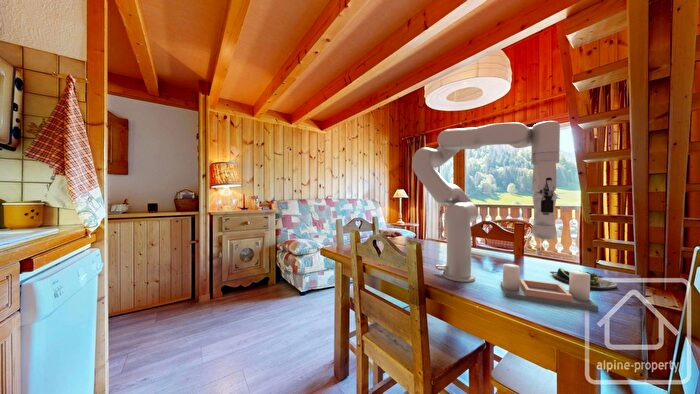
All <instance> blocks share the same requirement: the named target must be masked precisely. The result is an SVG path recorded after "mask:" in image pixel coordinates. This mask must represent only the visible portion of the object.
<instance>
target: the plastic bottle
mask: <svg viewBox="0 0 700 394" xmlns="http://www.w3.org/2000/svg"><path fill="white" fill-rule="evenodd" d="M544 191H547V190H544ZM553 194H554V195H553V197H554V200H553V201H554V205H553V213H543V212H541V200H542V191H541V190H540V192H533V193H532V202H533V203H532V204H533V211H534V214H533V215H534V216H533V217H534V218H533V225H532V229H531V233H532V236H533V237H534V238H537V239H539V240H544V241H545V240H554V239H556V237H557V233H558V232H557V227H556V221H555V210H556V209H555V208H556V202H557V194H556V192H555V191H554V192H553Z"/></svg>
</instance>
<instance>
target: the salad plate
mask: <svg viewBox="0 0 700 394" xmlns="http://www.w3.org/2000/svg"><path fill="white" fill-rule="evenodd" d="M579 271H580V272H582V271H581V270H579ZM584 272H585V273H588V274H590V291H592V290H593V291H601V290H602V291H603V289H604V290H610V289H613V288H616V287H617V286H618V284H617V283H616V282H613V281H610V280H606V279H603V278H604V276H603V275H598V274H596V273H595V272H589V271H584ZM549 273H550V274H551V275H552V277H553V278H554V279H555V280H557V281H558V282H561V283H564V284H567V285H569V271H568V270H565V269H563V268H562V267H561V268H558V269H557V271H549ZM600 283H601V284H600ZM603 284H604V285H603ZM602 285H603V286H602ZM605 285H606V287H605Z"/></svg>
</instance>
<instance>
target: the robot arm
mask: <svg viewBox="0 0 700 394" xmlns="http://www.w3.org/2000/svg"><path fill="white" fill-rule="evenodd" d="M560 138H561V126H560V122H558V121H555V120H547V121H540V122H537V123H536V124H535V123H534V125H533V126H532V127H531V126H530V127H529V126H527V125H526V124H524V123H521V122H498V123H491V124H486V125H481V126H478V127H477V126H476V127H464V128H463V127H462V128H447V129H444V130H442V131H441V132H440V133H439V134H438V136H437V144H438V145H439V146H438V147H436V148H431V147H426V146H425V147H421V148H419V149H417V150H416V151H415V153H414V154H413V157H412V162H411V163H412V170H413V172H414V174H415V176H416V177H417V179H418V180H419V181H420V182H421V183H422V185H423V186H424V188H425V189H426V190H427V192H428V193H429V194H430V196H431V198H433V199H434V201H435V202H436V203H437V204H439V205H444V206H445V205H447V206H448V207H447V208H446V210H445V216H444V219H445V227H446V263H445V264H443V265H441V264H435V269H436V270H437V271H440V272H441V271H443V272H442V276H443V278H444V279H447V280H451V281H454V282H458V283H459V282H460V283H470V282H474V281H475V280H476V276H475V274H473V273H472V229H471V223H473V222H474V221H476V220H477V218H478V216H479V210H478V207H477V206H476V205H475V203H474V202H473V200H471V198H470V197H469V196H468V195H467V194H466V192H464V190H463V188H461V187H459V186H458V185H456V184H454V183H448V182H447V181H446V180H445V179H444V177H443V176H442V175H441V173H440V172H438V170H436V168H440V167H441V166H443V165H444V164H445V163H447V162H448V161H449V160H450V159H452V158H453V157H454V156H455V155H456V154H457V153H458V152H460V151H461V150H478V149H480V148H483V147H485V146H493V145H494V146H496V145H497V146H498V145H499V146H501V145H508V146H511V147H513V148H515V149H523V148H528V147H531V150H530V151H531V153H530V155H531V156H530V158H531V160H530V161H531V163H530V164H531V165H533V169H532V178H531V180H532V181H531V191H532V193H534V192H540V190H541V191H542V200H541V212H543V213H553V205H554V201H553V200H554V197H553V195H554V194H553V192H555V191H556V190H557V179H558V178H557V164H559V163H560V145H561V143H560V142H561V139H560ZM544 190H547V191H544Z"/></svg>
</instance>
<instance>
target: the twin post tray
mask: <svg viewBox="0 0 700 394" xmlns="http://www.w3.org/2000/svg"><path fill="white" fill-rule="evenodd" d="M502 265H503V266H502V280H501V281H500V288H501V289H502V292H503V296H504V297H505V298H509V299H514V300H521V301H529V302H536V303H541V304H548V305H555V306H561V307H562V306H563V307H568V308H573V309H580V310H587V311H593V312H599V305H597V304H596V303H595V302H593V300H591V298H590V297H591V290H590V274H588V273H585V272H586V271H581V270H579V271H578V270H569V271H568V272H569V284H568V289H566V288H565V287H564V286H563V285H562V284H560V283H555V282H546V281H539V280H538V281H537V280H530V279H522V278H521V277H520V273H521V272H520V269H521V268H520V266H519V265H517V264H512V263H503V264H502ZM580 271H581V272H580Z"/></svg>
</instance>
